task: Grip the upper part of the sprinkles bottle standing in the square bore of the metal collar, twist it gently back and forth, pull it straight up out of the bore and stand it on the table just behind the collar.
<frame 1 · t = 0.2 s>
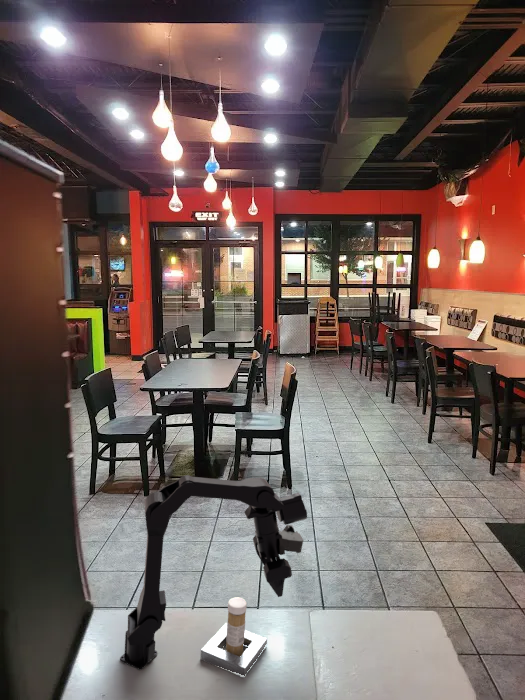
hand: (276, 585, 126), 15 cm above the table, tool pointing down, fingers open, 9 cm apart
metal collar: (234, 653, 122), on the table
sprinkles bottle: (234, 654, 122), resting in metal collar
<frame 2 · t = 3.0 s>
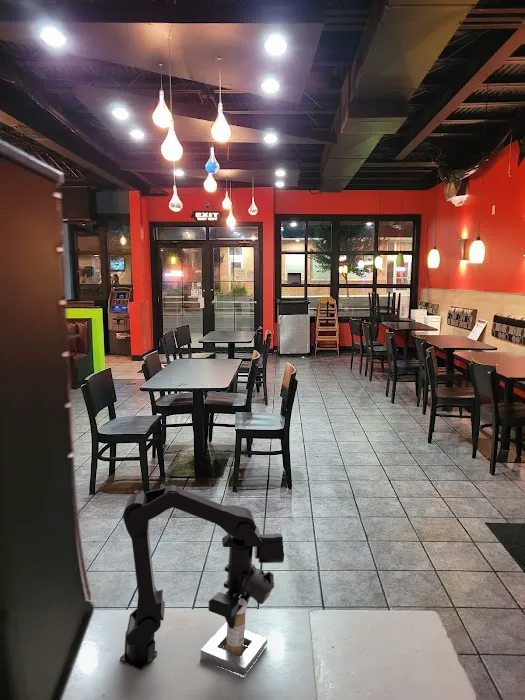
hand: (236, 622, 121), 8 cm above the table, tool pointing down, fingers closed on sprinkles bottle, 4 cm apart
sprinkles bottle: (234, 654, 122), resting in metal collar, touching gripper
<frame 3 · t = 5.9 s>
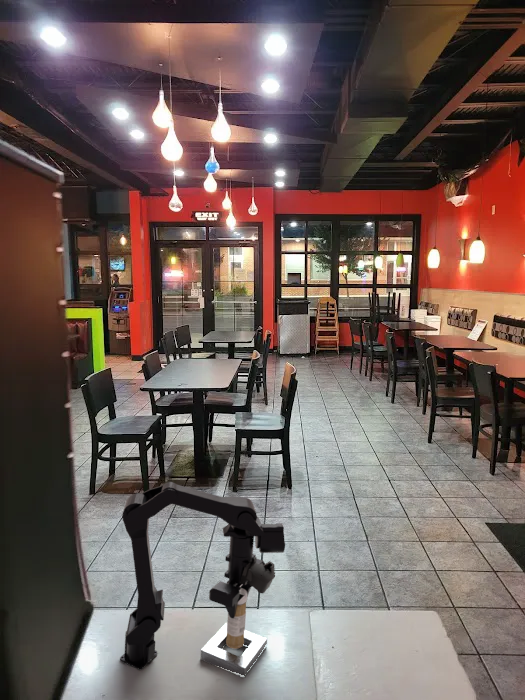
hand: (236, 612, 121), 11 cm above the table, tool pointing down, fingers closed on sprinkles bottle, 4 cm apart
sprinkles bottle: (234, 644, 121), point 2 cm above the table, touching gripper
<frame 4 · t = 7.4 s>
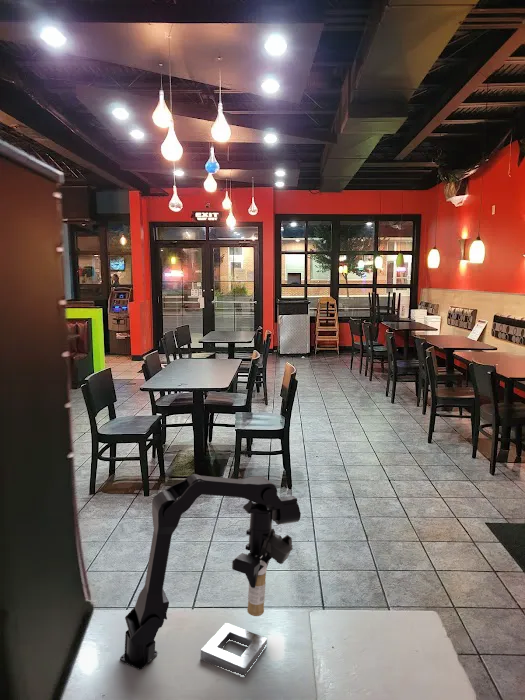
hand: (257, 583, 130), 13 cm above the table, tool pointing down, fingers closed on sprinkles bottle, 4 cm apart
sprinkles bottle: (255, 612, 131), point 5 cm above the table, touching gripper
when the fingers open (9 cm above the table, at t = 8.7 s): sprinkles bottle stays where it is, on the table.
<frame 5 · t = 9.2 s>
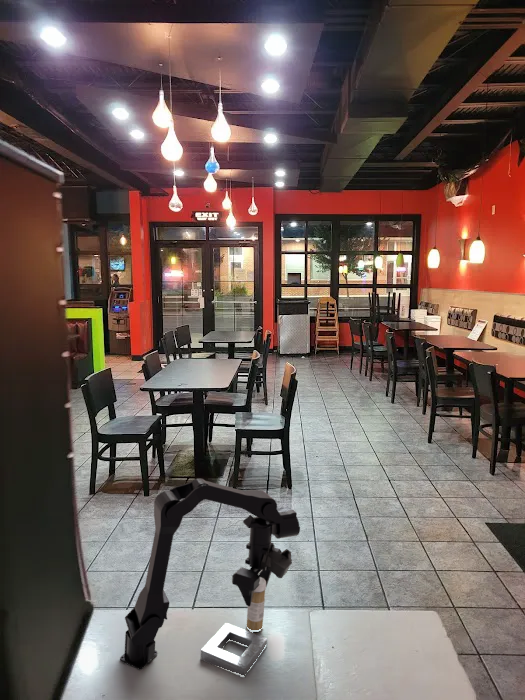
hand: (256, 596, 131), 9 cm above the table, tool pointing down, fingers open, 9 cm apart
sprinkles bottle: (254, 629, 132), on the table
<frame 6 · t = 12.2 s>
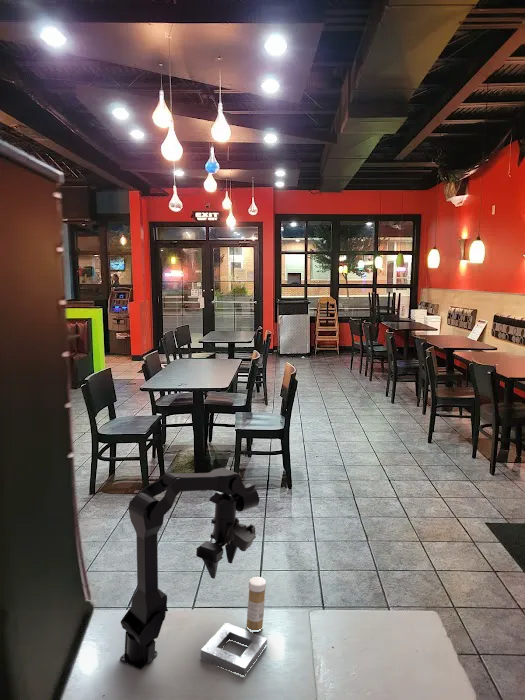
hand: (221, 570, 135), 13 cm above the table, tool pointing down, fingers open, 9 cm apart
nothing on the table moved.
at the end: sprinkles bottle inside the target area (0.1 cm from its centre), on the table; sprinkles bottle tilted 0°; the gripper is holding nothing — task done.
